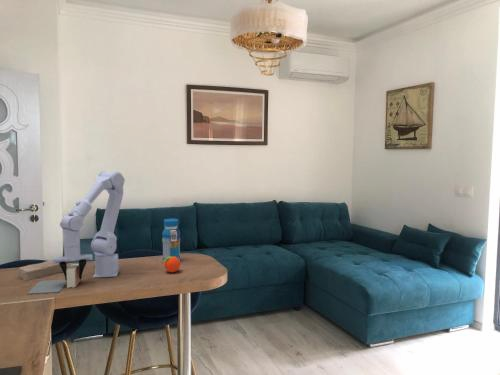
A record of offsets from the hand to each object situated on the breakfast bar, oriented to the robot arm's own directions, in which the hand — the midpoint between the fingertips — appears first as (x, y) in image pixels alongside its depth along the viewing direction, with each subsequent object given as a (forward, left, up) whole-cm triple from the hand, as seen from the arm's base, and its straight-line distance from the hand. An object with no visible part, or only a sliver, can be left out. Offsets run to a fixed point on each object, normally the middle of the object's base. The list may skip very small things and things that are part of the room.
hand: (73, 279), depth 165 cm
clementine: (-38, -10, -2) cm, 39 cm away
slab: (0, 0, -2) cm, 2 cm away
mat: (+9, +2, -2) cm, 9 cm away
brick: (+16, -16, -2) cm, 23 cm away
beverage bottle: (-38, -29, -2) cm, 48 cm away
